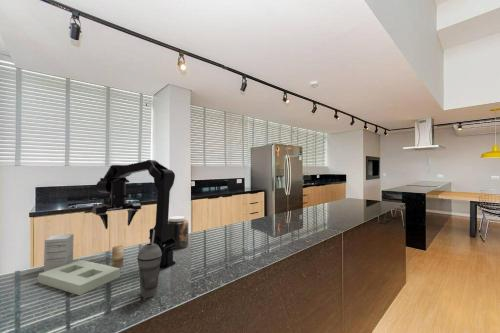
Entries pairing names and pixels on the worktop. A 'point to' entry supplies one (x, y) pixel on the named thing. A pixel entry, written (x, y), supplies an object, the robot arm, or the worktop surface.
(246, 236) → the worktop surface
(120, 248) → the peg
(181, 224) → the jar
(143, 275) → the beverage cup
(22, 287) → the worktop surface
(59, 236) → the supplement box
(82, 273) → the board
